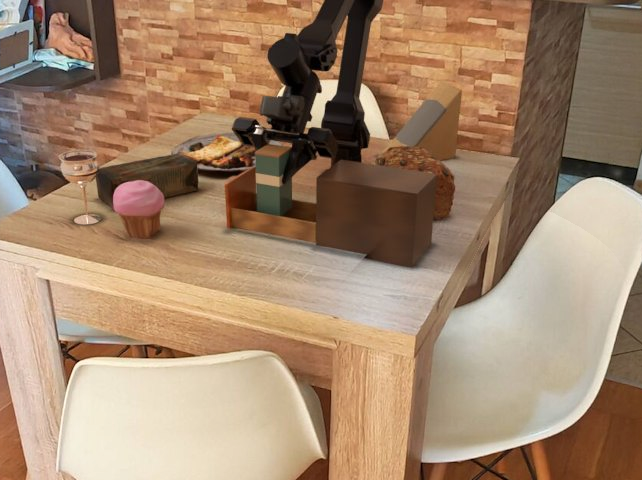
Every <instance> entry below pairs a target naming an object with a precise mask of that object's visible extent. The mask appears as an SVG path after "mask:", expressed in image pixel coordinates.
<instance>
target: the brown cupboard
mask: <svg viewBox="0 0 642 480" xmlns="http://www.w3.org/2000/svg"><path fill="white" fill-rule="evenodd" d="M327 169H328V170H326V169H325V170H326V171H325V170H324V172H322V173H320V174H319V175H318V176H316V181H315V182H316V183H315V187H316V188H315V203H316V243H315V246H319V247H324V248H329V249H334V250H340V251H344V252H345V251H346V252H351V253H355V254H360V255H364V257H363V259H366V260H372V261H376V262H382V263H386V264H391V265H397V266H403V267H408V268H412V267H413V266H414V265H415V264H416V263H417V262H418V261H419V259H420V258H421V257H422V256H423V255H424V254H425V252H426V251H427V250H428V249H429V248H430V246H431V245H432V239H433V238H432V237H433V229H434V219H433V217H434V205H435V194H436V183H437V174H434V173H428V172H421V171H414V170H408V169H401V168H394V167H387V166H381V165H375V163H374V164H373V163H366V162H362V161H361V162H354V161H347V160H340V161H339V162H337V163H336V164H334V165H333V166H332V167H331V166H330V167H328V168H327Z"/></svg>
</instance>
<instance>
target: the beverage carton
mask: <svg viewBox="0 0 642 480" xmlns="http://www.w3.org/2000/svg"><path fill="white" fill-rule="evenodd" d="M136 180H143V181H148V182H150V183H152V184H153V185H154V186H156V187H157V188H158V189H159V190H160V191H161V192H162V194H163V196H164V199H165V198H169V197H170V198H171V197H175V196H179V195H184V194H188V193H191V192H197V191H199V170H198V168H197V163H196V162H195V161H193V160H191V159H189V158H187V157H186V156H184V155H183V154H182V153H176V154H173V155H172V154H168V155H161V156H156V157H151V158H145V159H141V160H135V161H130V162H124V163H119V164H113V165H107V166H103V167H99V172H98V175H97V176H96V177H95V182H96V183H95V184H96V189H97V197H98V199H100V200H101V201H102V202H104V203H105V204H106V205H107V206H108V207H110V208H111V209H112V210H114V205H113V195H114V192H115V190H116V188H117V187H118V186H120V185H121V184H123V183H126V182H132V181H136Z"/></svg>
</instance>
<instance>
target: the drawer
mask: <svg viewBox="0 0 642 480" xmlns="http://www.w3.org/2000/svg"><path fill="white" fill-rule="evenodd" d="M224 197H225V199H224V201H225V217H226V229H232V228H235V229H241V230H245V231H251V232H255V233H256V232H257V233H262V234H267V235H272V236H277V237H282V238H288V239H293V240H297V241H298V240H299V241H303V242H309V243H314V244H316V202H312V201H307V200H306V201H305V200H300V199H294V198H292V208H291V209H289V210H288V211H287V212H286V213H284V214H283V215H282V216H276V215H270V214H264V213H259V212H257V190H256V169H255V167H254V166H252V167H251V168H249V169H246V170H245V171H242V172H241V173H238V175H236V176H234V177H233V178H231V179H230V180H228V181H226V182H225V183H224Z"/></svg>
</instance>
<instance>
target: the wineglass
mask: <svg viewBox="0 0 642 480" xmlns="http://www.w3.org/2000/svg"><path fill="white" fill-rule="evenodd" d="M97 156H98V153H97V152H96V151H93V150H88V149H75V150H69V151H65V152H63V153H60V154H59V155H58V159H59V160H60V167H59V169H60V172H61V174H62V176H63V177H64V179H65V180H67V181H68V182H70V183H71V184H74V185H77V186H78V187H79V188H80V191H81V197H82V202H83V207H84V211H85V214H81V215H78V216H76V217H75V218H74V220H73V222H74V223H76V224H78V225H93V224H96V223H99V222H100V221H101V220H102V216H100V215H99V214H92V213H91V214H89V210H88V201H87V193H86V192H87V191H86V188H87V186H88V184H89V183H92V182H94V180H96V176H97V175H98V172H99V168H100V164H99V161H98V160H97V159H96V158H97Z"/></svg>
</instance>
